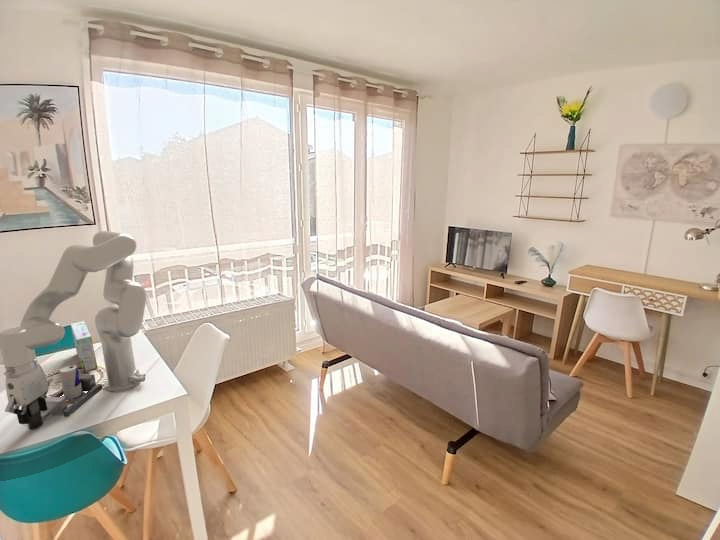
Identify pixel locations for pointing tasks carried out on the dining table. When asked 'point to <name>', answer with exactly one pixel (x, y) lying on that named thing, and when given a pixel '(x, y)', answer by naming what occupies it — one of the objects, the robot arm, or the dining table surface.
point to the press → (88, 385)
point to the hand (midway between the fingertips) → (33, 416)
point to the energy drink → (71, 382)
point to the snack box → (84, 346)
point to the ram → (54, 407)
